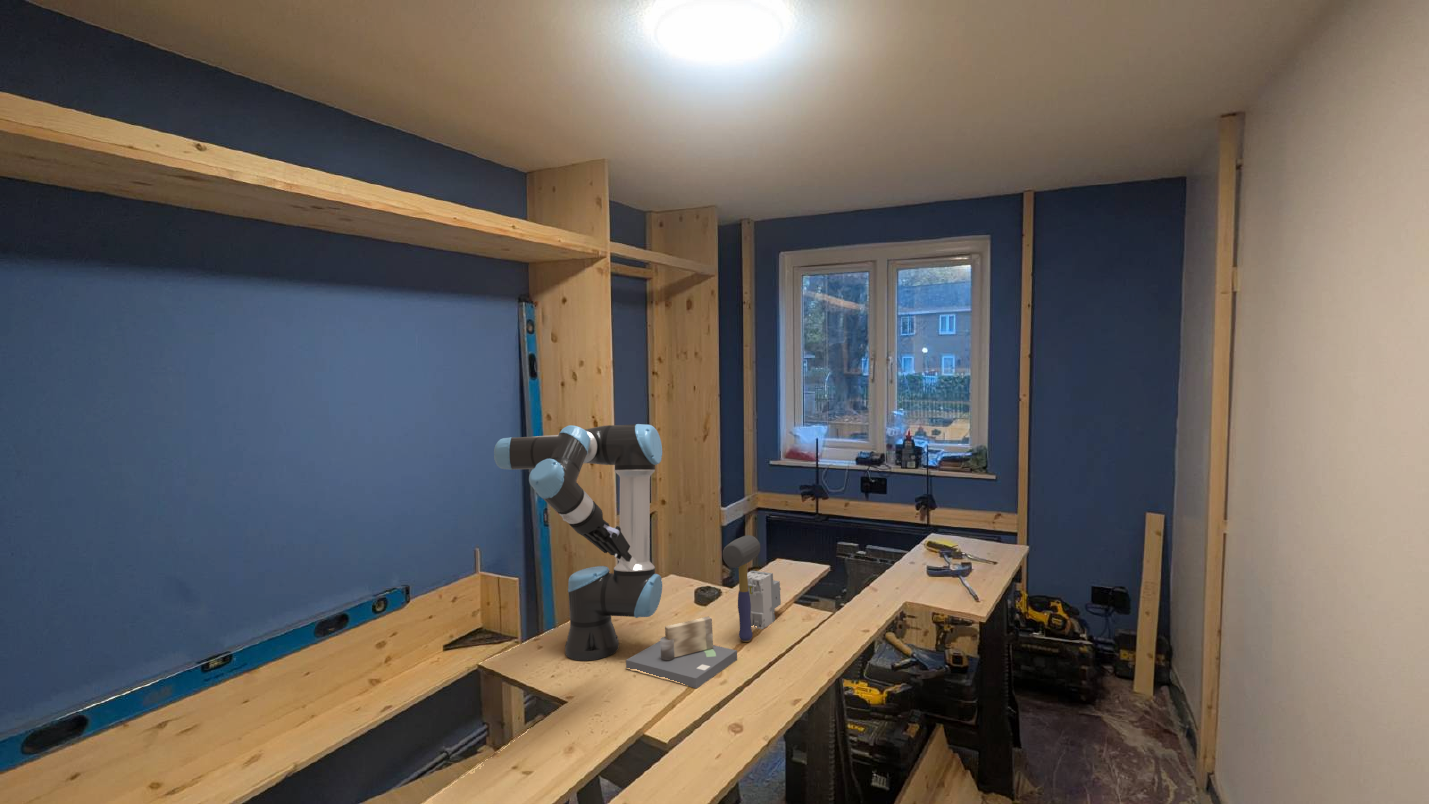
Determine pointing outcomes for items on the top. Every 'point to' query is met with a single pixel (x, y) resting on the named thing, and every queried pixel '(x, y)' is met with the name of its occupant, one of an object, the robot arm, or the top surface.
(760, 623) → the circuit breaker
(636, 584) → the robot arm
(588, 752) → the top surface
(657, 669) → the board
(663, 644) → the wooden block
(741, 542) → the rubber mallet
